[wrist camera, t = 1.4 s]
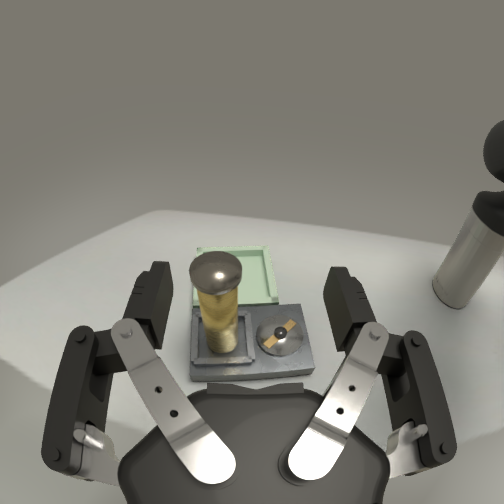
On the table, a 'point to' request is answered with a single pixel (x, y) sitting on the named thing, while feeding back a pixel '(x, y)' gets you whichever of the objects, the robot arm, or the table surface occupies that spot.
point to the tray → (250, 276)
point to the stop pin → (218, 297)
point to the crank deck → (255, 346)
